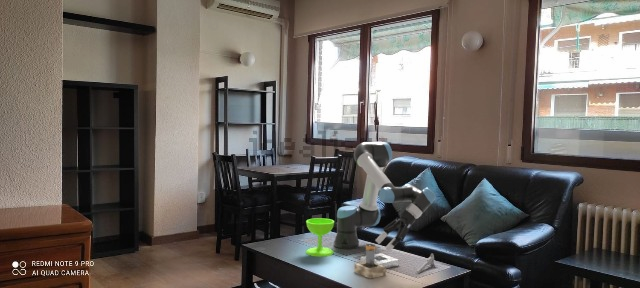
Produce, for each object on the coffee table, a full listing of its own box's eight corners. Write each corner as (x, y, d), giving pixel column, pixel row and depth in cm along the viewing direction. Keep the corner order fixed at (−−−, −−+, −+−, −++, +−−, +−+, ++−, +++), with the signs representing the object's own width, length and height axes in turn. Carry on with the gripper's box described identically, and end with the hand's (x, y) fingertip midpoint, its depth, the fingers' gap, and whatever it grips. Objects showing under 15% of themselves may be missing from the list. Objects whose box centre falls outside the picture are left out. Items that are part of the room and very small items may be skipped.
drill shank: (363, 272, 223) (363, 244, 222) (370, 271, 226) (371, 243, 225) (369, 275, 219) (369, 246, 219) (376, 273, 222) (377, 245, 221)
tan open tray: (354, 271, 225) (354, 263, 224) (369, 268, 230) (370, 260, 230) (369, 278, 215) (370, 270, 214) (385, 275, 220) (385, 266, 220)
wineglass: (334, 249, 265) (335, 218, 264) (332, 257, 249) (333, 224, 248) (307, 248, 266) (307, 217, 266) (303, 256, 250) (304, 223, 250)
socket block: (360, 262, 240) (360, 257, 239) (380, 258, 247) (380, 253, 247) (378, 269, 228) (378, 263, 228) (398, 265, 236) (398, 259, 236)
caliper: (432, 264, 239) (432, 252, 239) (433, 264, 238) (434, 253, 238) (415, 274, 223) (415, 261, 223) (417, 274, 222) (417, 262, 222)
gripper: (427, 225, 214) (397, 258, 211) (405, 214, 238) (378, 244, 235) (417, 214, 212) (386, 247, 210) (396, 204, 237) (368, 234, 234)
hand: (382, 245), depth 222 cm, fingers open, 13 cm apart
